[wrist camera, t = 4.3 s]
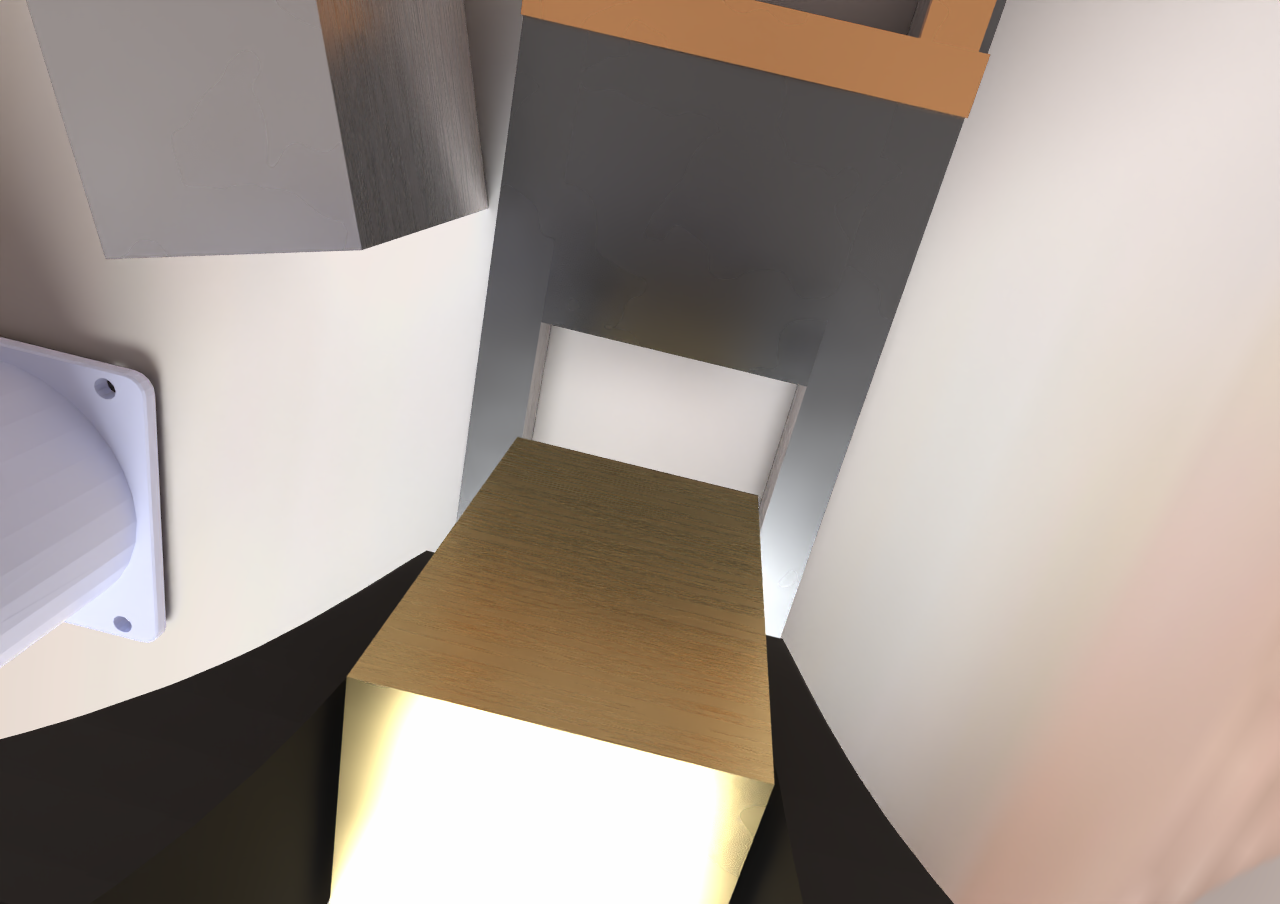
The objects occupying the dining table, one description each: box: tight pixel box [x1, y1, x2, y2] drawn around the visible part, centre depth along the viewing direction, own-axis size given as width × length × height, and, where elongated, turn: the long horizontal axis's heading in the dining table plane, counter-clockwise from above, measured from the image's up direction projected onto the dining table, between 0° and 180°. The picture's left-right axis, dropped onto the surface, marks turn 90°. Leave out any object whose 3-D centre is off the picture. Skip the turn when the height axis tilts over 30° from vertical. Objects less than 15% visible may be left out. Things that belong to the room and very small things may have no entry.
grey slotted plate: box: [457, 0, 1006, 638], centre depth 15 cm, size 8×22×1 cm, turn 168°
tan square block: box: [330, 437, 774, 904], centre depth 11 cm, size 4×4×6 cm
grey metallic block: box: [26, 0, 488, 259], centre depth 13 cm, size 4×4×6 cm
